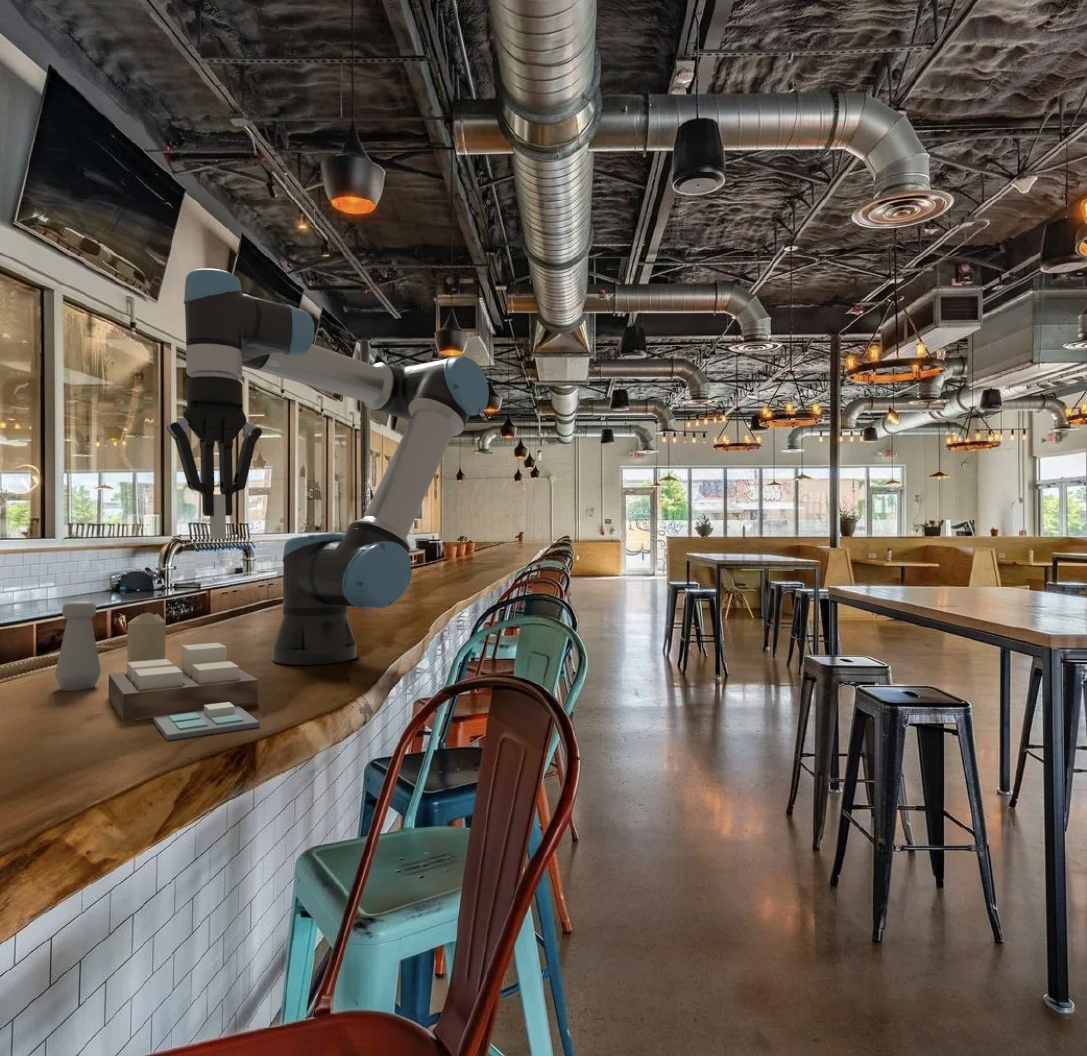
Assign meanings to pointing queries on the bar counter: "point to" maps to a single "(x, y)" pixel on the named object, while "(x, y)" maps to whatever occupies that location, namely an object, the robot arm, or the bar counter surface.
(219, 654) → the back left button
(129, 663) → the button
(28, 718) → the bar counter surface
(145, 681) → the button
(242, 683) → the button board
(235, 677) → the button
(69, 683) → the salt shaker
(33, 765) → the bar counter surface
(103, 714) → the bar counter surface
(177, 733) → the card
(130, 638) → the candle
